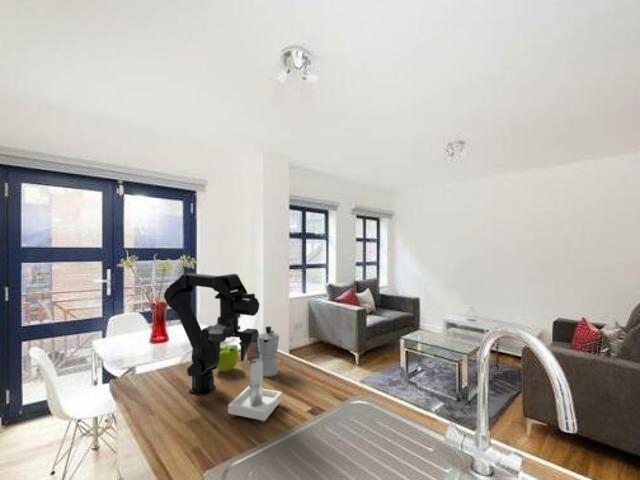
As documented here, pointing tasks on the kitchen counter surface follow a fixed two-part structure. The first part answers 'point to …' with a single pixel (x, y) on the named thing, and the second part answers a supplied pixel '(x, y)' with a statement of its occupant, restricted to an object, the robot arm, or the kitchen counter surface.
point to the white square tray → (259, 412)
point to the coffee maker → (268, 352)
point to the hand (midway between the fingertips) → (229, 359)
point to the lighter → (253, 351)
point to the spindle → (256, 382)
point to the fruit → (227, 358)
